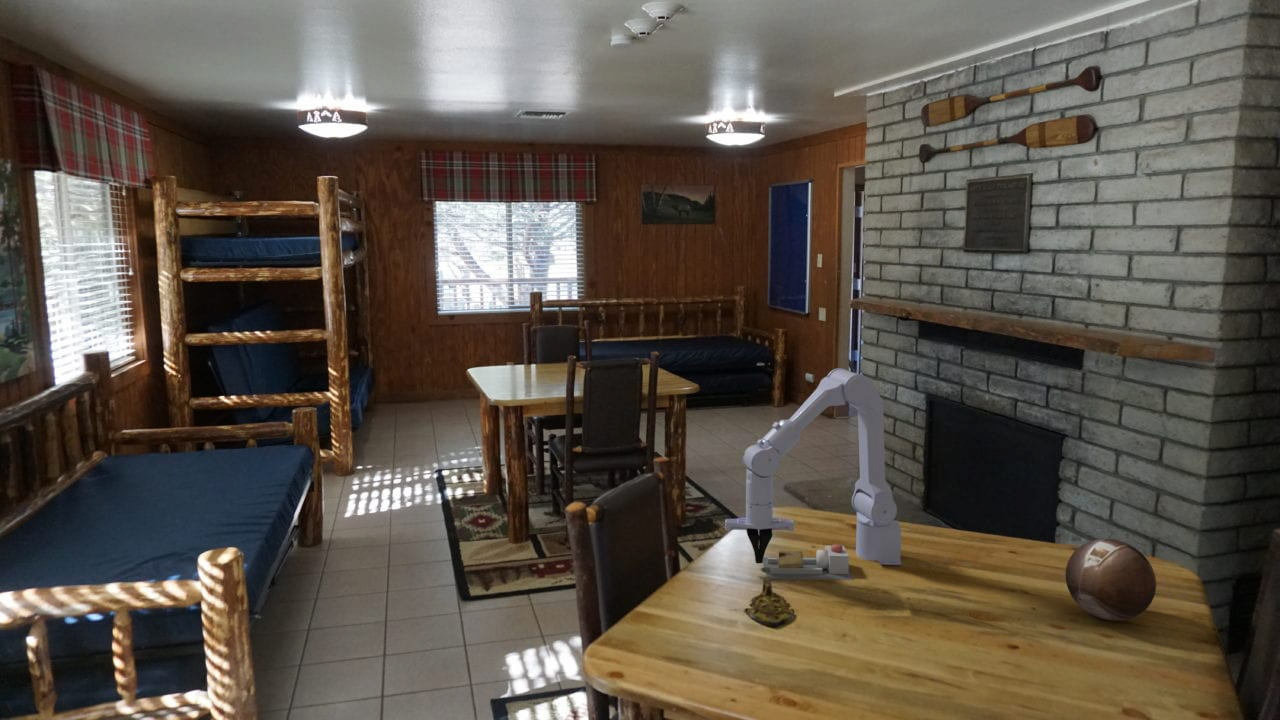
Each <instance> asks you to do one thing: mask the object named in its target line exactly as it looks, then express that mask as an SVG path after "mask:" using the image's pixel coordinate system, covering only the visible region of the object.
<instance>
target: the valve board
mask: <svg viewBox="0 0 1280 720" xmlns="http://www.w3.org/2000/svg"><path fill="white" fill-rule="evenodd" d="M815 556H816V557H806V556H805V557H804V556H803V568H778V556H776V557H775V556H773V557H772V556H768V557H767V556H764V557H763V563H762V565H763V568H764V573H765V577H766V579H769V580H803V581H807V580H808V581H809V580H811V581H812V580H814V581H815V580H817V581H819V580H820V581H821V580H822V581H824V580H825V581H826V580H827V581H833V580H835V581H847V580H848V581H854V577H853V575H852V574H851V571H850V570H849V566H850V565H849V564H850V563H849V561H850V560H849V559H850V555H849V553H848V551H847V550H846V548H845V546H844V545H842V544H839V543H835V544H834V543H833V544H831V545H824V549H817V550H816V555H815Z"/></svg>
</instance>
